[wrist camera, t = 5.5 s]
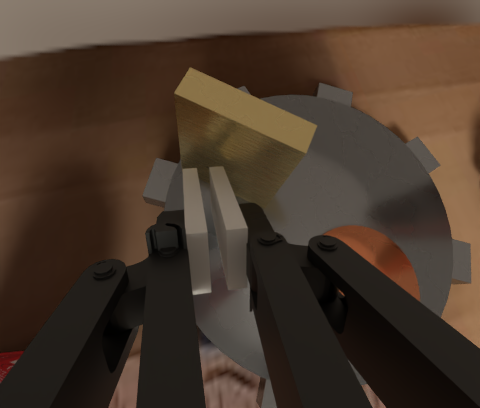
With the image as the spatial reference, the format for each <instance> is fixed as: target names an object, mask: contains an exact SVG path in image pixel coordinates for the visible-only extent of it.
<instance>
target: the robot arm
mask: <svg viewBox="0 0 480 408" xmlns="http://www.w3.org/2000/svg"><path fill="white" fill-rule="evenodd" d="M209 174H210V193H211V211H212V216H213V221H214V226H215V230H216V235H217V240H218V245H219V249H220V254H221V259H222V263H223V268H224V273H225V277H226V282H227V287H228V290H233V289H241V288H247V278H248V281H249V284H250V312H252V310H253V312H254V316H255V320H256V324H257V328H258V332H259V337H260V341H261V345H262V349H263V353H264V357H265V361H266V365H267V369H268V373H269V377H270V381H271V386H272V390H273V394H274V398H275V402H276V406H277V408H372V406H371V404H370V402H369V400H368V398H367V396H366V394H365V392H364V390H363V388H362V386H361V384H360V382H359V380H358V379H357V377H356V375H355V373H354V371H353V369H352V367H351V365H350V363H351V364H352V365H353V366H354V368H355V369H356V370H357V371H358V373H359V374H360V375H361V376H362V378H363V379H364V380H365V381H366V383H367V384H368V385H369V386H370V388H371V389H372V390H373V391H374V393H375V394H376V395H377V396H378V398H379V399H380V400H381V401H382V403H383V404H384V405H385V406H386V408H480V348H478V347H477V346H476V345H474V344H473V343H472V342H471V341H469V340H468V339H467V338H465V337H464V336H463V335H462V334H460V333H459V332H458V331H457V330H455V329H454V328H453V327H451V326H450V325H449V324H448V323H446V322H445V321H444V320H443V319H441V318H440V317H439V316H437V315H436V314H435V313H434V312H432V311H431V310H430V309H428V308H427V307H426V306H425V305H423V304H422V303H421V302H420V301H418V300H417V299H416V298H414V297H413V296H412V295H411V294H409V293H408V292H407V291H405V290H404V289H403V288H402V287H400V286H399V285H398V284H397V283H395V282H394V281H393V280H391V279H390V278H389V277H388V276H386V275H385V274H384V273H382V272H381V271H380V270H379V269H377V268H376V267H375V266H374V265H372V264H371V263H370V262H368V261H367V260H366V259H365V258H363V257H362V256H361V255H359V254H358V253H357V252H356V251H354V250H353V249H352V248H351V247H349V246H348V245H347V244H345V243H344V242H343V241H341V240H340V239H338V238H336V237H332V236H329V235H318V236H314V237H312V238H311V239H310V240H309V242H308V246H304V245H295V244H290V243H288V242H287V241H286V239H285V238H284V236H283V235H281V234H279V233H277V232H274V230H273V228H272V226H271V224H270V222H269V220H268V219H267V217H266V215H265V214H264V211H263V209H262V208H261V207H260V206H259V205H257V204H256V203H243V204H238V202H237V200H236V197H235V195H234V192H233V190H232V187H231V185H230V182H229V180H228V177H227V175H226V172H225V170H224V167H223V166H219V167H209ZM183 193H184V210H173V211H163V212H162V213H161V214H160V215H159V216H158V217H157V223H156V224H155V225H153V226H151V227H150V228H148V229H147V231H146V233H145V235H146V241H147V247H148V253H149V257H148V258H146V259H145V260H143V261H142V262H139V263H137V264H134V265H131V266H128V267H126V265H125V263H124V262H122V261H120V260H115V259H109V260H103V261H99V262H97V263H95V264H93V265H91V266H89V267H88V268H87V269H86V270H85V271H84V272H83V273H82V275H81V276H80V277H79V279H78V280H77V281H76V283H75V284H74V285H73V287H72V288H71V289H70V291H69V292H68V293H67V295H66V296H65V297H64V299H63V300H62V301H61V303H60V304H59V305H58V307H57V308H56V309H55V311H54V312H53V313H52V315H51V316H50V317H49V319H48V320H47V322H46V323H45V324H44V326H43V327H42V328H41V330H40V331H39V332H38V334H37V335H36V336H35V338H34V339H33V340H32V342H31V343H30V344H29V346H28V347H27V348H26V350H25V351H24V352H23V354H22V355H21V356H20V358H19V359H18V360H17V362H16V363H15V364H14V366H13V367H12V368H11V370H10V371H9V372H8V374H7V375H6V376H5V378H4V379H3V380H2V382H1V383H0V408H108V406H109V404H110V401H111V399H112V396H113V394H114V391H115V389H116V386H117V383H118V381H119V378H120V376H121V373H122V371H123V368H124V366H125V363H126V360H127V358H128V355H129V353H130V350H131V348H132V345H133V343H134V340H135V338H136V335H137V332H138V328H139V325H142V324H143V331H142V343H141V356H140V368H139V380H138V393H137V405H136V408H206V405H205V396H204V388H203V379H202V370H201V362H200V353H199V344H198V336H197V327H196V318H195V310H194V301H193V295H196V294H203V293H211V278H210V262H209V246H208V231H207V225H206V220H205V214H204V208H203V202H202V196H201V190H200V184H199V178H198V172H197V168H189V169H183ZM339 290H340V291H341V292H342V293H343V294H344V295H342V294H341V293H340V292H339ZM348 360H349V361H350V363H349V361H348Z"/></svg>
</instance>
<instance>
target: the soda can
mask: <svg viewBox="0 0 480 408" xmlns="http://www.w3.org/2000/svg"><path fill="white" fill-rule="evenodd" d="M23 352H24V351H16V352H6V353H0V383H1V382H2V380H3V379H4V378H5V376H6V375H7V374H8V372H9V371H10V370H11V368H12V367H13V366H14V364H15V363H16V362H17V360H18V359H19V358H20V356H21V355H22V354H23Z"/></svg>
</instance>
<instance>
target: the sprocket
mask: <svg viewBox="0 0 480 408" xmlns="http://www.w3.org/2000/svg"><path fill="white" fill-rule="evenodd" d="M352 94H353V92H350V91H346V90H343V89H340V88H336V87H333V86H330V85H326V84H323V83H319V84H318V86H317V88H316V90H315V91H314V93H313V96H308V95H280V96H272V97H266V98H261V99H258V98H256V97H254V96H252V95H250V93H249V92H248V90H247V89H246V87H245V86H242V87H240V88H238V89H237V88H234V87H232V86H230V85H228V84H226V83H223V82H221V81H219V80H217V79H215V78H212V77H210V76H208V75H206V74H204V73H202V72H199V71H197V70H195V69H193V68H191V67H190V69H189V70H188V72H187V73H186V75H185V76H184V78H183V80H182V81H181V83H180V84H179V86H178V88H177V89H176V91H175V92H174V97H175V107H176V117H177V126H178V136H179V146H180V155H181V159H180V161H179V163H178V164H177V163H173V162H170V161H166V160H162V159H159V158H156V160H155V163H154V166H153V168H152V171H151V174H150V176H149V179H148V182H147V185H146V187H145V190H144V193H143V198H144V200H145V202H146V203H149V204H153V205H156V206H160V207H164V211H173V210H184V193H183V169H189V168H197V172H198V178H199V184H200V190H201V196H202V202H203V208H204V214H205V220H206V225H207V231H208V246H209V262H210V278H211V293H203V294H196V295H193V301H194V310H195V318H196V324H197V325H198V327H199V328H200V329H201V331H202V332H203V333H204V335H205V336H206V337H207V338H208V339H209V340H210V341H211V342H212V343H213V344H214V345H215V346H216V347H217V348H218V349H219V350H220V351H221V352H223V353H224V354H225V355H227V356H228V357H229V358H231V359H232V360H233V361H235V362H236V363H237V364H239V365H240V366H242V367H244V368H245V369H247V370H249V371H251V372H253V373H255V374H256V375H258V376H260V377H261V378H260V383H259V388H258V394H257V399H256V402H257V404H258V405H259V407H260V408H277V406H276V402H275V398H274V394H273V390H272V386H271V381H270V377H269V373H268V369H267V365H266V361H265V357H264V353H263V349H262V345H261V341H260V337H259V332H258V328H257V324H256V320H255V316H254V312H253V310H252V312H250V284H249V281H248V278H247V288H241V289H233V290H228V287H227V282H226V277H225V273H224V268H223V263H222V259H221V254H220V249H219V245H218V240H217V235H216V230H215V226H214V221H213V216H212V211H211V193H210V174H209V167H219V166H223V167H224V170H225V172H226V175H227V177H228V180H229V182H230V185H231V187H232V190H233V192H234V195H235V197H236V200H237V202H238V204H243V203H256V204H257V205H259V206H260V207H261V208H262V209H263V211H264V214H265V215H266V217H267V219H268V220H269V222H270V224H271V226H272V228H273V230H274V232H277V233H279V234H281V235H283V236H284V238H285V239H286V241H287V242H288V243H290V244H295V245H304V246H308V242H309V240H310V239H311V238H312V237H314V236H318V235H329V236H332V237H336V238H338V239H340V240H341V241H343V242H344V243H345V244H347V245H348V246H349V247H351V248H352V249H353V250H354V251H356V252H357V253H358V254H359V255H361V256H362V257H363V258H365V259H366V260H367V261H368V262H370V263H371V264H372V265H374V266H375V267H376V268H377V269H379V270H380V271H381V272H382V273H384V274H385V275H386V276H388V277H389V278H390V279H391V280H393V281H394V282H395V283H397V284H398V285H399V286H400V287H402V288H403V289H404V290H405V291H407V292H408V293H409V294H411V295H412V296H413V297H414V298H416V299H417V300H418V301H420V302H421V303H422V304H423V305H425V306H426V307H427V308H428V309H430V310H431V311H432V312H434V313H435V314H436V315H437V316H439V317H440V318H441V315H442V312H443V310H444V307H445V305H446V302H447V299H448V295H449V290H450V286H451V284H469V283H471V253H470V244H469V243H465V242H462V241H458V240H454V239H452V237H451V230H450V225H449V221H448V218H447V214H446V210H445V207H444V205H443V202H442V200H441V197H440V194H439V192H438V190H437V188H436V186H435V184H434V183H433V181H432V179H431V177H430V175H429V174H428V173H430V172H431V171H433V170H434V169H436V168H437V167H439V166H440V164H439V163H438V161H437V160H436V159H435V158H434V156H433V155H432V154H431V153H430V151H429V150H428V149H427V148H426V146H425V145H424V144H423V143H422V141H421V140H420V139H419V138H418V137H416V138H414V139H413V140H411V141H409V142H408V143H406V144H405V143H404V142H403V141H402V140H401V139H400V138H399V137H398V136H396V135H395V134H394V133H393V132H391V131H390V130H389V129H388V128H387V127H385V126H384V125H383V124H381V123H379V122H378V121H376V120H375V119H373V118H372V117H370V116H369V115H367V114H365V113H363V112H361V111H359V110H357V109H355V108H352V107H351V102H352ZM339 292H340V293H341V294H342V295H344V294H343V293H342V292H341V291H340V290H339ZM348 361H349V360H348ZM349 363H350V361H349ZM350 365H351V367H352V369H353V371H354V373H355V375H356V377H357V379H358V380H359V382H360V384H361V385H364V384H367V383H366V381H365V380H364V379H363V378H362V376H361V375H360V374H359V373H358V371H357V370H356V369H355V368H354V366H353V365H352V364H351V363H350Z"/></svg>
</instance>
